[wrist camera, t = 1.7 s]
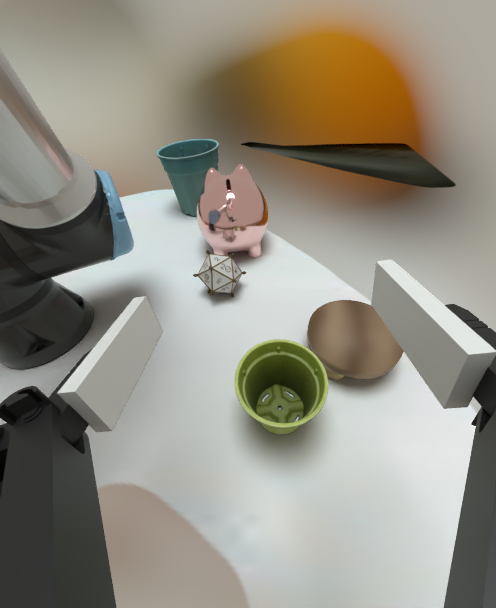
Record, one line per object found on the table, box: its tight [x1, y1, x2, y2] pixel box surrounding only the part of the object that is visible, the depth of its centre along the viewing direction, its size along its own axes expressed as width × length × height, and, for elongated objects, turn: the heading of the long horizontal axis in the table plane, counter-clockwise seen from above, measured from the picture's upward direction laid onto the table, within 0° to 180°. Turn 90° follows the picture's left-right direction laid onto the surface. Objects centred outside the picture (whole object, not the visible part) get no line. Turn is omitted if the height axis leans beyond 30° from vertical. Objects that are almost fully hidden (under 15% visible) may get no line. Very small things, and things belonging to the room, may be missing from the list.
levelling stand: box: [307, 300, 403, 380], centre depth 34 cm, size 12×12×4 cm
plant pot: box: [235, 340, 328, 435], centre depth 27 cm, size 9×9×9 cm
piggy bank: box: [197, 164, 268, 257], centre depth 52 cm, size 15×18×16 cm
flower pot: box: [156, 139, 219, 216], centre depth 68 cm, size 16×16×16 cm
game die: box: [193, 250, 246, 297], centre depth 44 cm, size 9×8×10 cm
